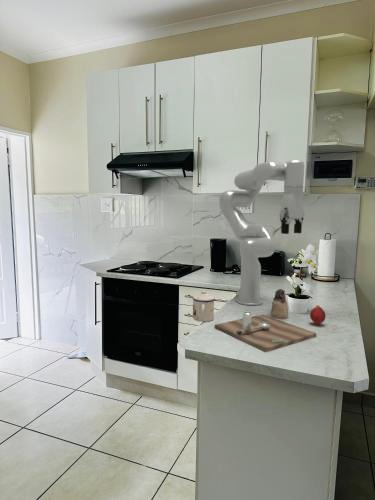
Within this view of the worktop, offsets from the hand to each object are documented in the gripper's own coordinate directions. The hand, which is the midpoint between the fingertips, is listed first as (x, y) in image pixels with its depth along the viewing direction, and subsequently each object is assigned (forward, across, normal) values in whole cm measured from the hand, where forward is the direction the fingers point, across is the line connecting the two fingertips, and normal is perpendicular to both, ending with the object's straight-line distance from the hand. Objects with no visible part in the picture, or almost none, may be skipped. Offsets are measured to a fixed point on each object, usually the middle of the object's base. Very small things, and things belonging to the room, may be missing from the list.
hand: (291, 233), depth 141 cm
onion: (+36, -1, +13) cm, 38 cm away
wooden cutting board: (+36, +23, +5) cm, 43 cm away
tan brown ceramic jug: (+36, +2, -3) cm, 36 cm away
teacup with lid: (+36, +31, -20) cm, 51 cm away
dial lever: (+34, +29, +4) cm, 45 cm away
